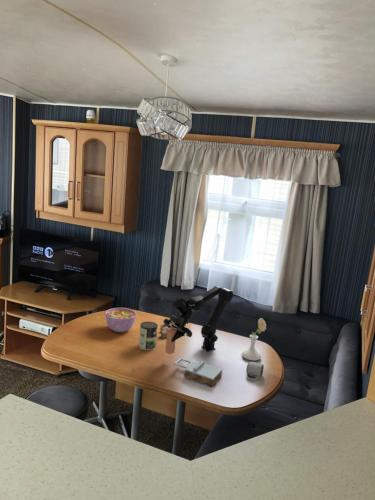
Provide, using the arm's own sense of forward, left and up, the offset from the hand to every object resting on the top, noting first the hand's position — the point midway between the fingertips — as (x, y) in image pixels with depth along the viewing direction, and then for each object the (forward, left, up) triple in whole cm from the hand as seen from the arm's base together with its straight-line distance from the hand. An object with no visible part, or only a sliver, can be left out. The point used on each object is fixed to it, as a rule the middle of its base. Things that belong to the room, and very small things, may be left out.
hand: (169, 340), depth 220 cm
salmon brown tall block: (-1, 0, -8) cm, 8 cm away
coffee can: (+2, -21, -13) cm, 25 cm away
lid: (-8, +18, -9) cm, 22 cm away
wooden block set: (-19, -37, -14) cm, 44 cm away
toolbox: (-10, +21, -13) cm, 27 cm away
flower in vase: (-50, +15, -13) cm, 54 cm away
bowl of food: (+8, -49, -13) cm, 52 cm away
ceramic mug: (-36, +32, -13) cm, 50 cm away
